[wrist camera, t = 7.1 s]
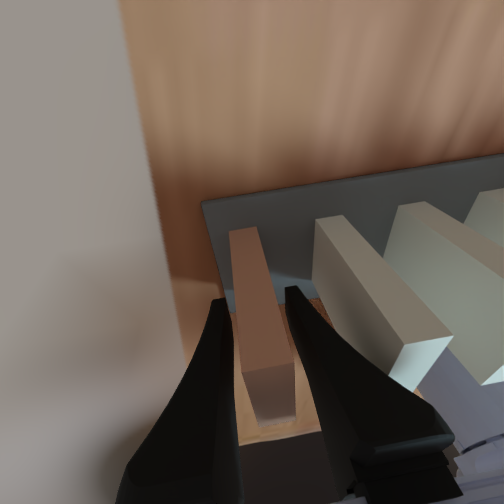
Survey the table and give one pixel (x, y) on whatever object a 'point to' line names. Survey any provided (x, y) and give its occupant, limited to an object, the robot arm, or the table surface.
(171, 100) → the table surface
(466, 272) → the domino
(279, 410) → the terracotta domino
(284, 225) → the mat
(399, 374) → the domino
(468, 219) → the domino
